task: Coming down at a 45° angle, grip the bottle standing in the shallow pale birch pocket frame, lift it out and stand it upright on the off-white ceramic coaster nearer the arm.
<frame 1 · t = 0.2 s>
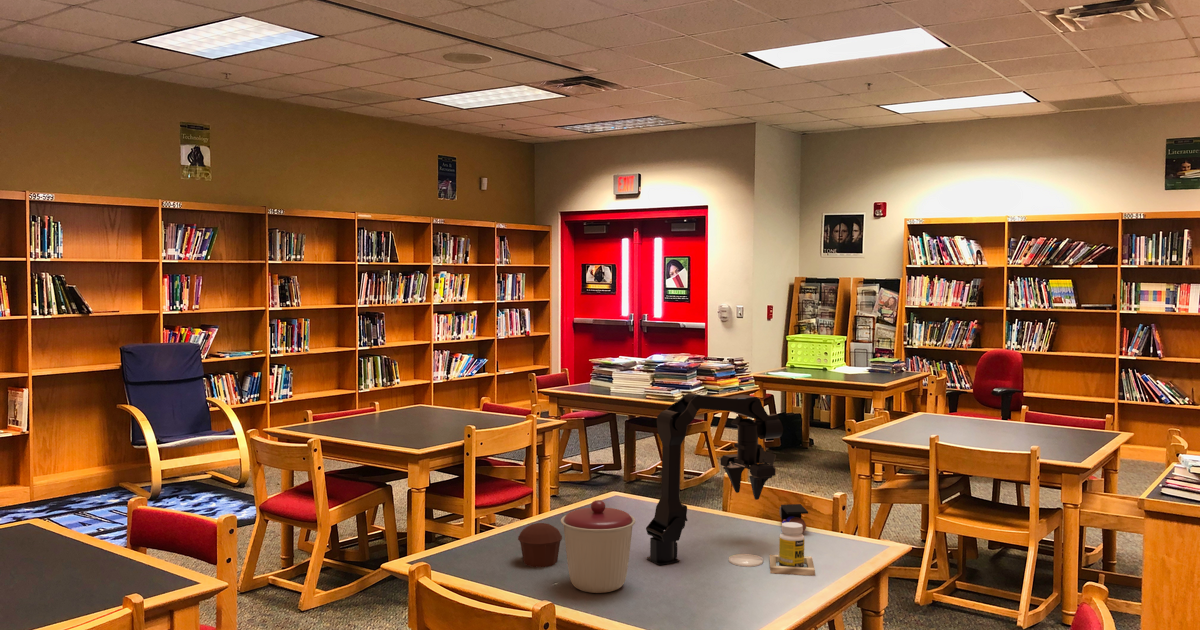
hand: (746, 496, 253), 14 cm above the table, tool pointing down, fingers open, 9 cm apart
pocket frame: (791, 567, 236), on the table
muffin: (540, 562, 240), on the table
coaster: (745, 561, 241), on the table
canister: (597, 587, 221), on the table
figurine character: (793, 530, 272), on the table
supplement bottle: (791, 568, 236), resting in pocket frame
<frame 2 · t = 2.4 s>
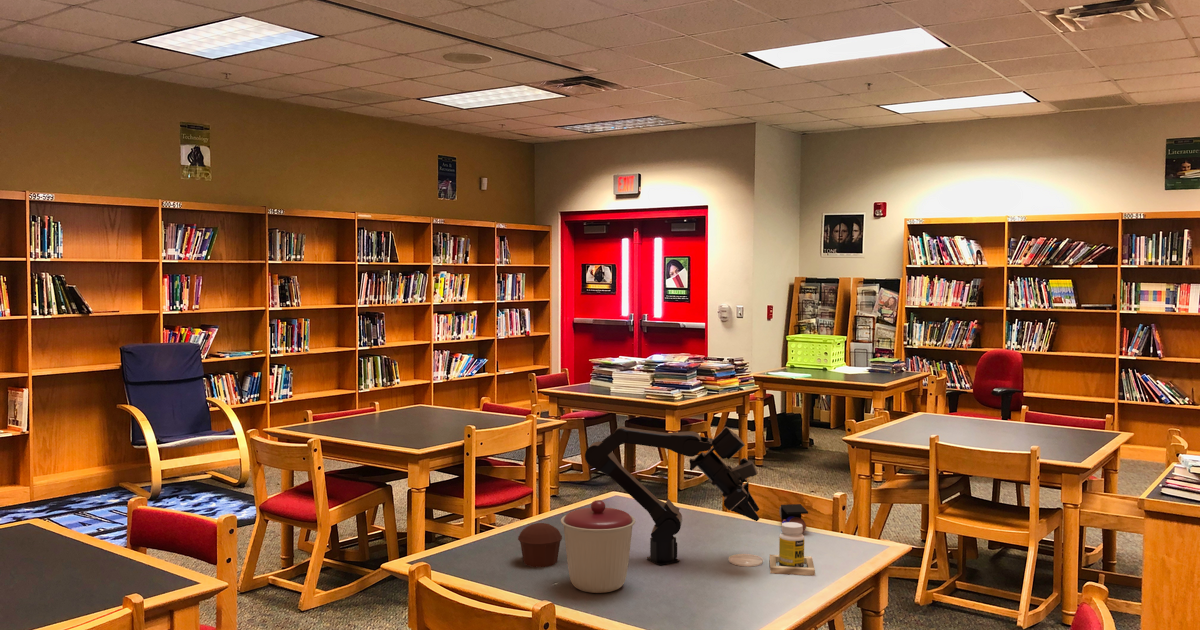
hand: (758, 515, 236), 13 cm above the table, tool tilted 45°, fingers open, 9 cm apart
nothing on the table moved.
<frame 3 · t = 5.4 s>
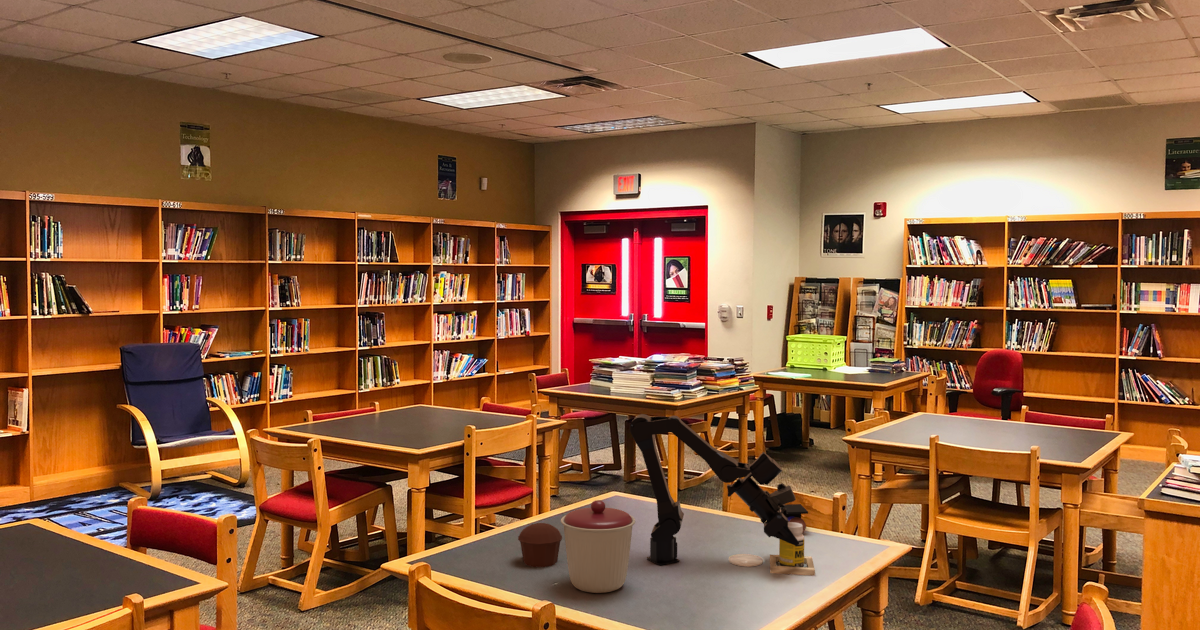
hand: (797, 540, 235), 7 cm above the table, tool tilted 45°, fingers closed on supplement bottle, 6 cm apart
supplement bottle: (791, 568, 236), resting in pocket frame, touching gripper
everything else where it was.
when the fingers open (9 cm above the table, at t = 9.1 s): supplement bottle stays where it is, resting on coaster.
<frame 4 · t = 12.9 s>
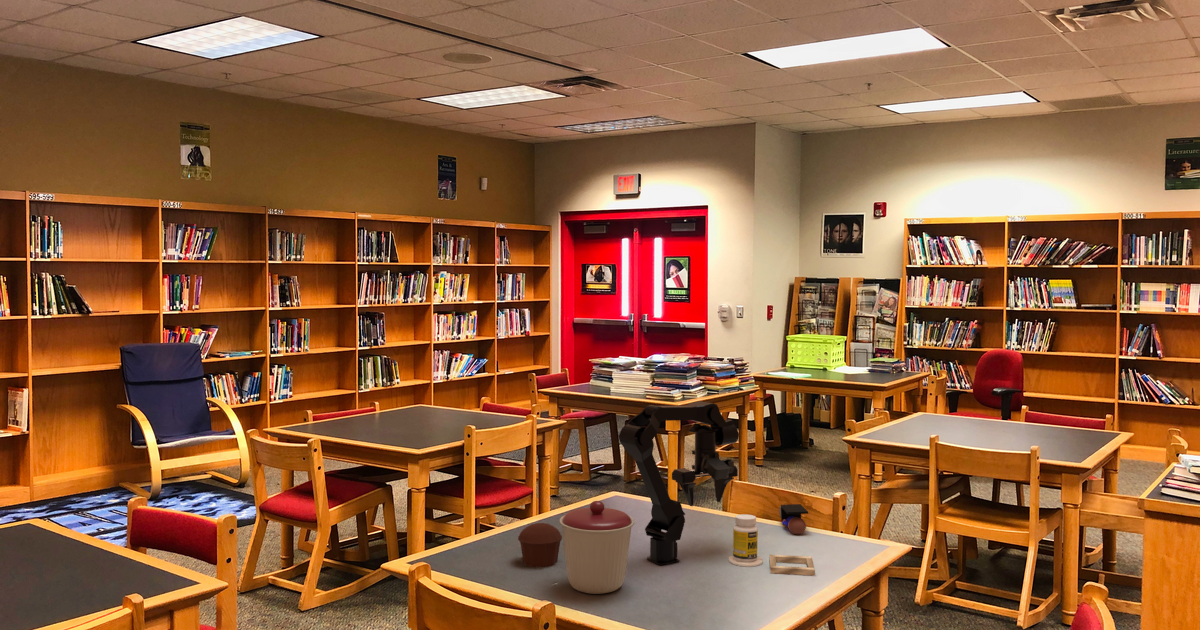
hand: (704, 504, 250), 13 cm above the table, tool pointing down, fingers open, 9 cm apart
supplement bottle: (745, 559, 241), resting on coaster
at the end: supplement bottle 0.2 cm from the coaster (horizontally); supplement bottle tilted 1°; the gripper is holding nothing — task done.
